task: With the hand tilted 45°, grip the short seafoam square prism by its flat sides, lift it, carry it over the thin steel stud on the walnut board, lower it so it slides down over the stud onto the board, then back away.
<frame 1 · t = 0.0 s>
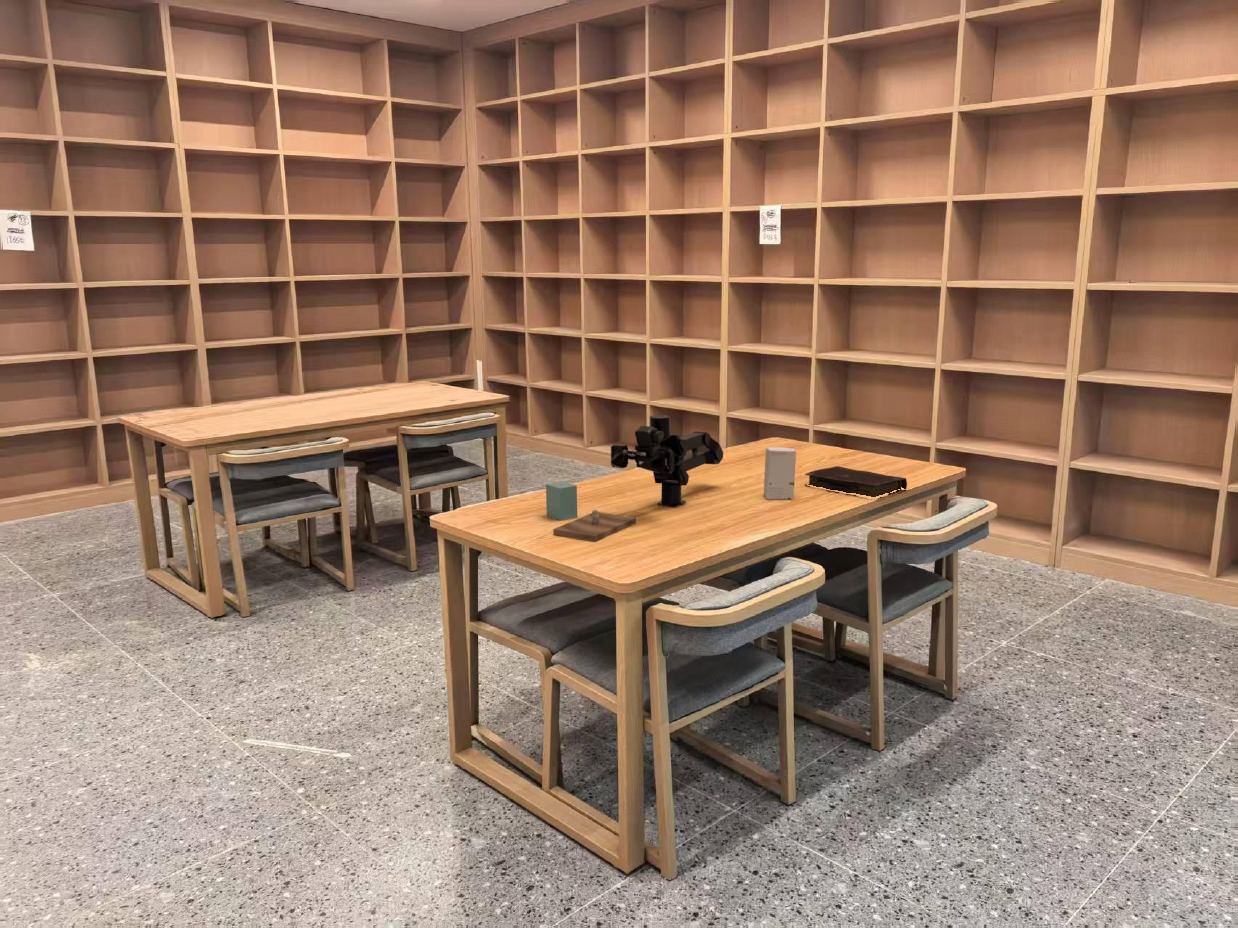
hand: (626, 464, 245), 17 cm above the table, tool horizontal, fingers open, 9 cm apart
seafoam square prism: (561, 516, 257), on the table
stud board: (595, 528, 245), on the table
diary: (854, 490, 287), on the table
skincare box: (778, 498, 277), on the table
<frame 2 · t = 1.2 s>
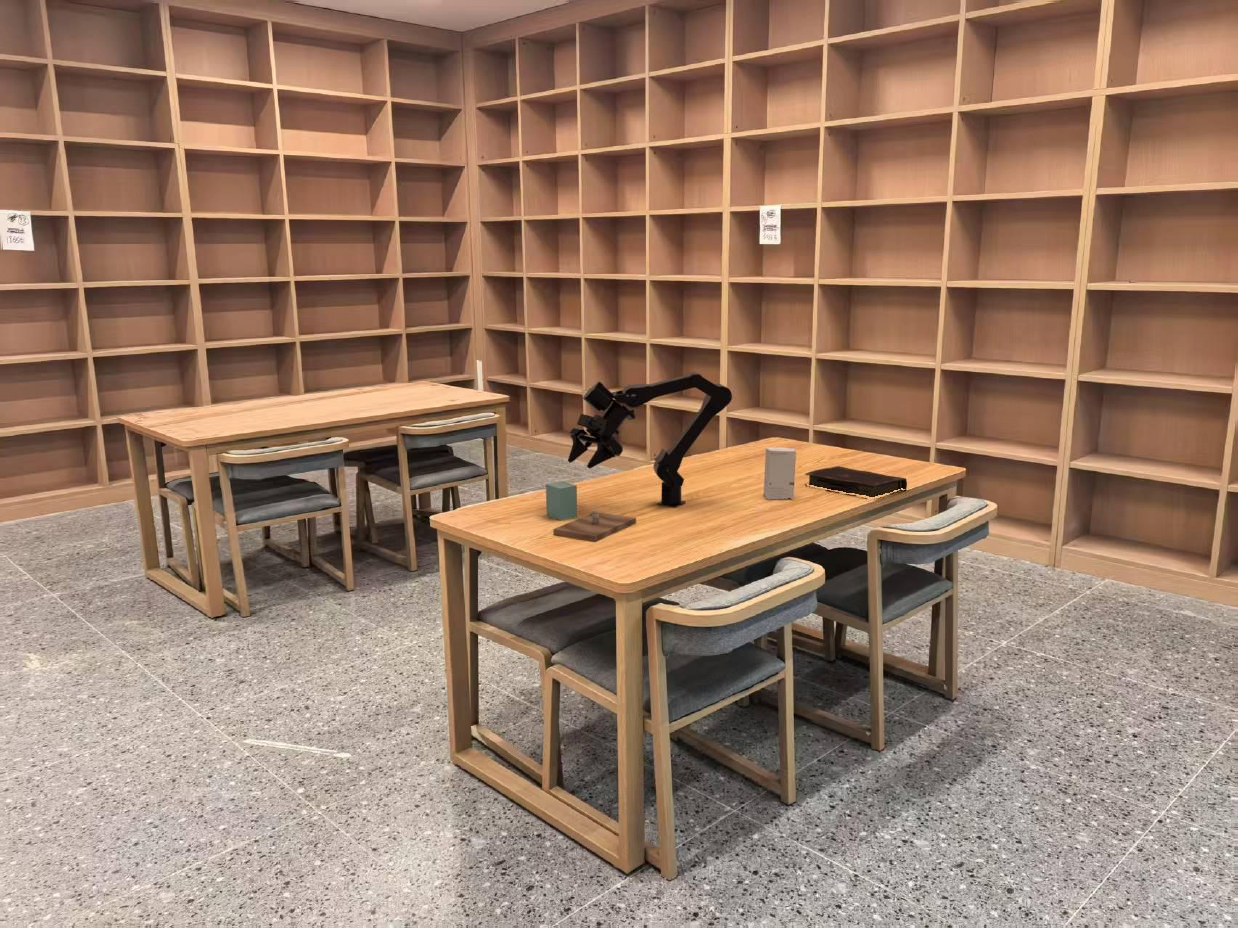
hand: (578, 464, 257), 14 cm above the table, tool tilted 45°, fingers open, 9 cm apart
nothing on the table moved.
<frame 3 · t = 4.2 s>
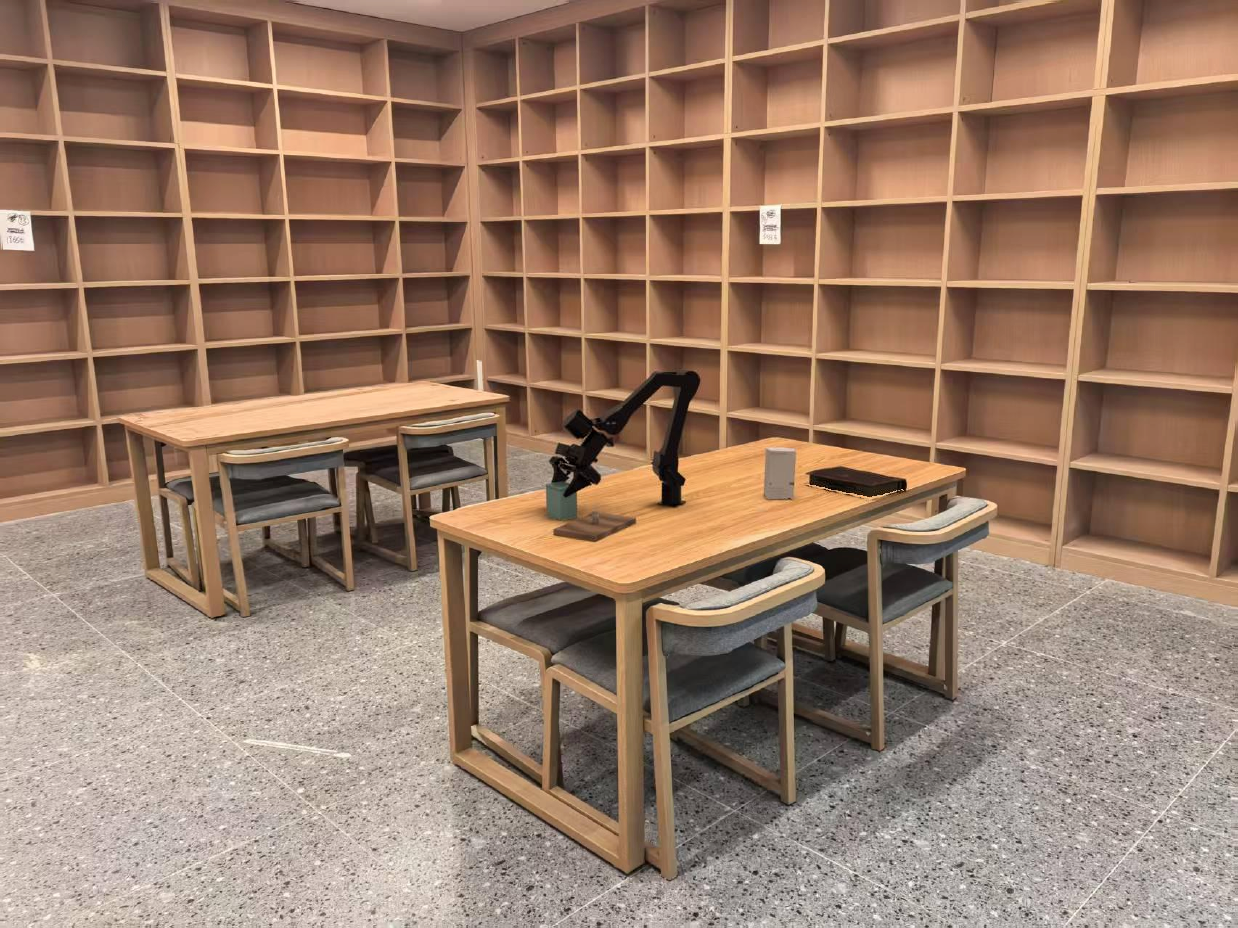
hand: (557, 494, 255), 7 cm above the table, tool tilted 45°, fingers closed on seafoam square prism, 7 cm apart
seafoam square prism: (561, 516, 257), on the table, touching gripper
everything else where it was.
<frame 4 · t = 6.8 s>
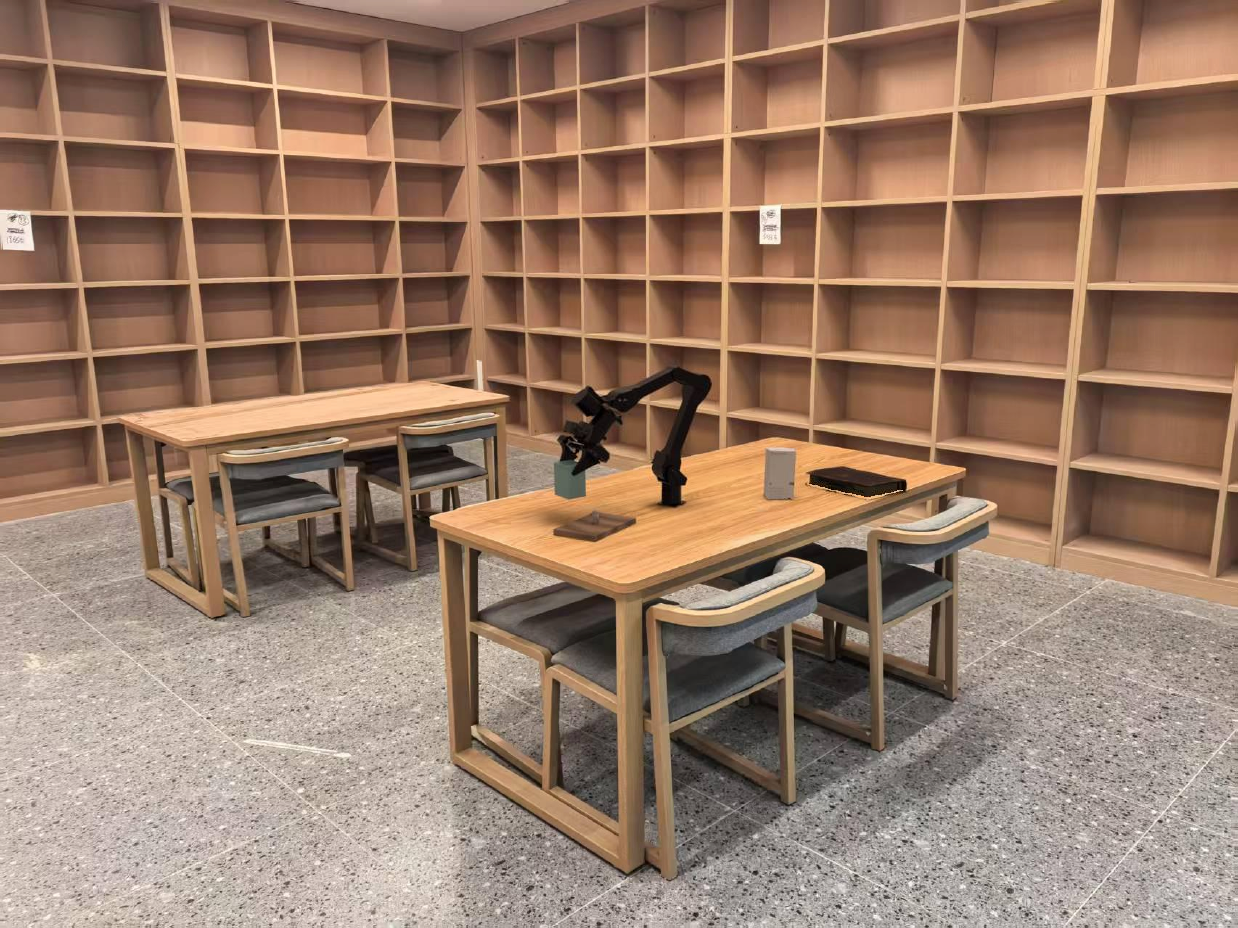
hand: (565, 472, 250), 13 cm above the table, tool tilted 45°, fingers closed on seafoam square prism, 7 cm apart
seafoam square prism: (570, 495, 253), point 7 cm above the table, touching gripper
everything else where it was.
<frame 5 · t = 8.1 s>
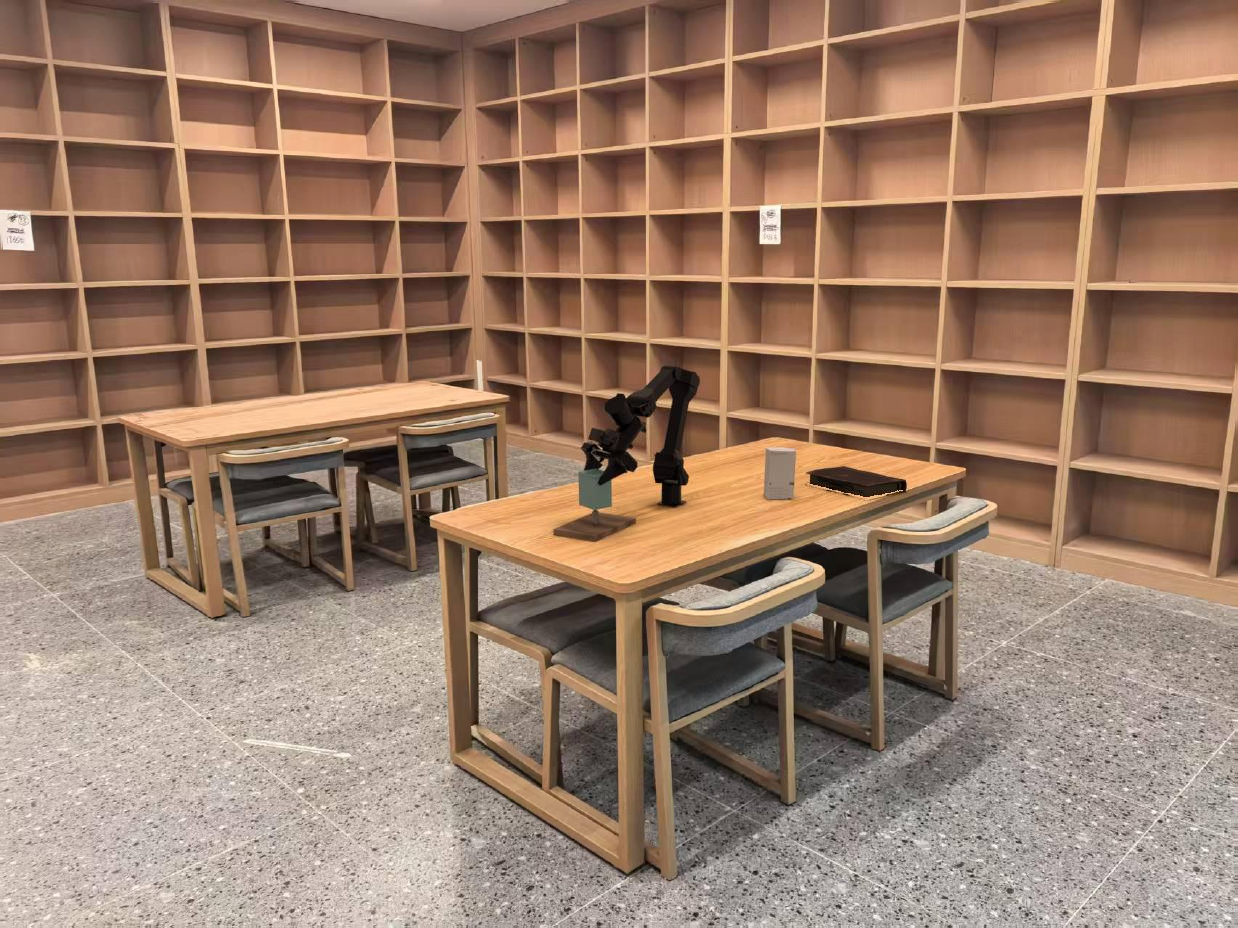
hand: (590, 482, 241), 13 cm above the table, tool tilted 45°, fingers closed on seafoam square prism, 7 cm apart
seafoam square prism: (595, 505, 243), point 6 cm above the table, touching gripper
when the fingers open (9 cm above the table, at t = 9.4 s): seafoam square prism stays where it is, resting on stud board.
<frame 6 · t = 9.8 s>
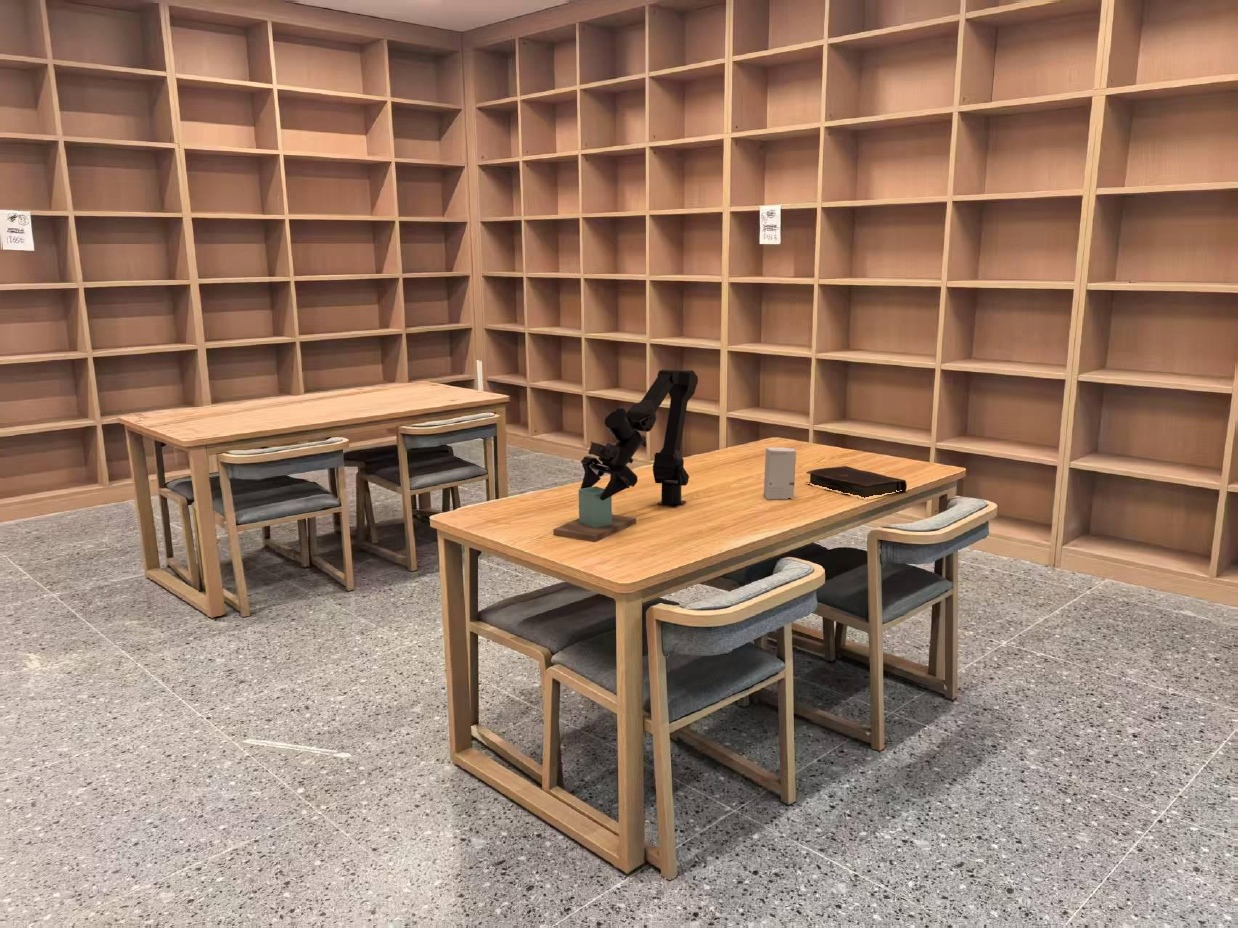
hand: (590, 496, 242), 9 cm above the table, tool tilted 45°, fingers open, 9 cm apart
seafoam square prism: (595, 523, 244), point 1 cm above the table, touching stud board
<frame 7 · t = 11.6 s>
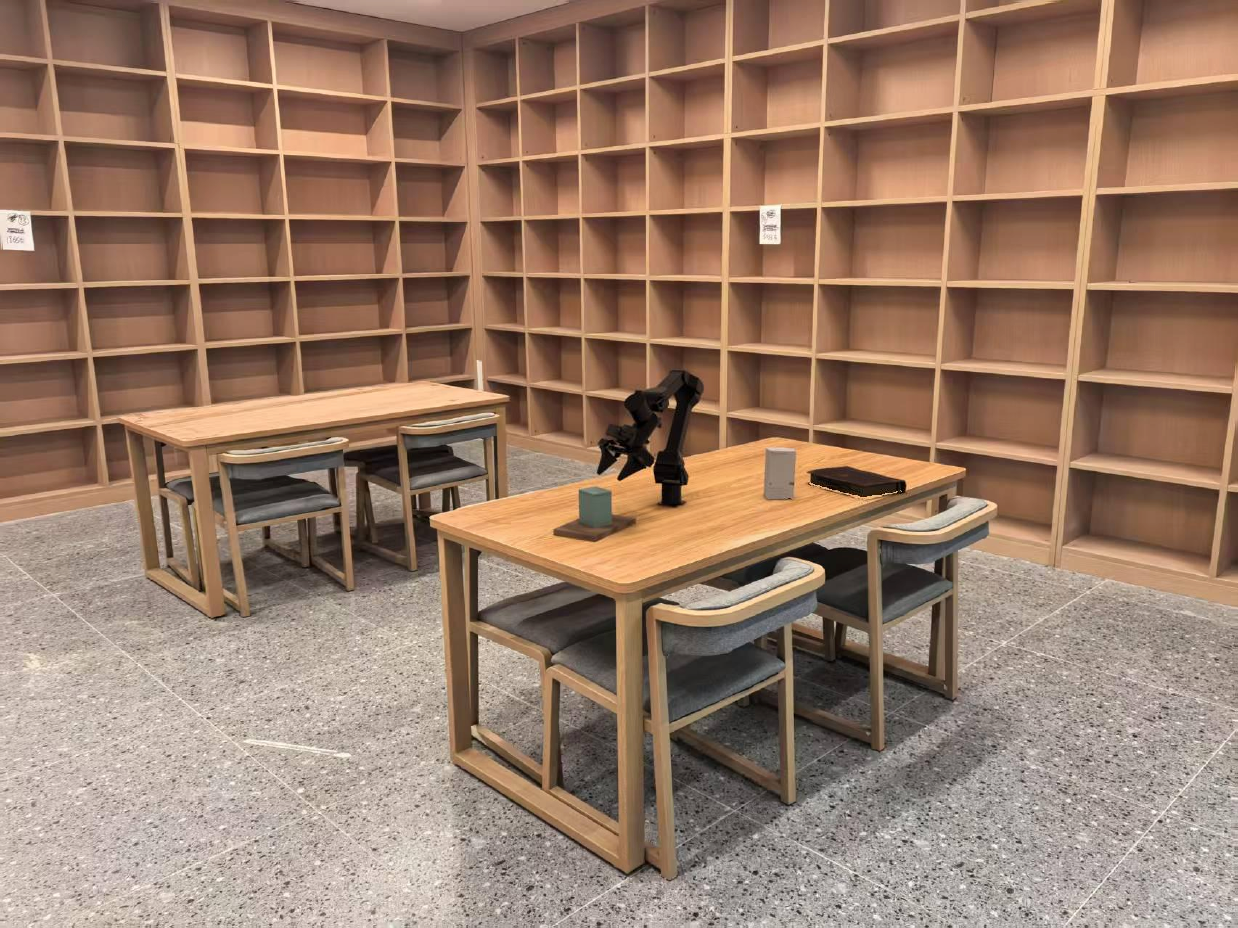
hand: (607, 477, 244), 13 cm above the table, tool tilted 45°, fingers open, 9 cm apart
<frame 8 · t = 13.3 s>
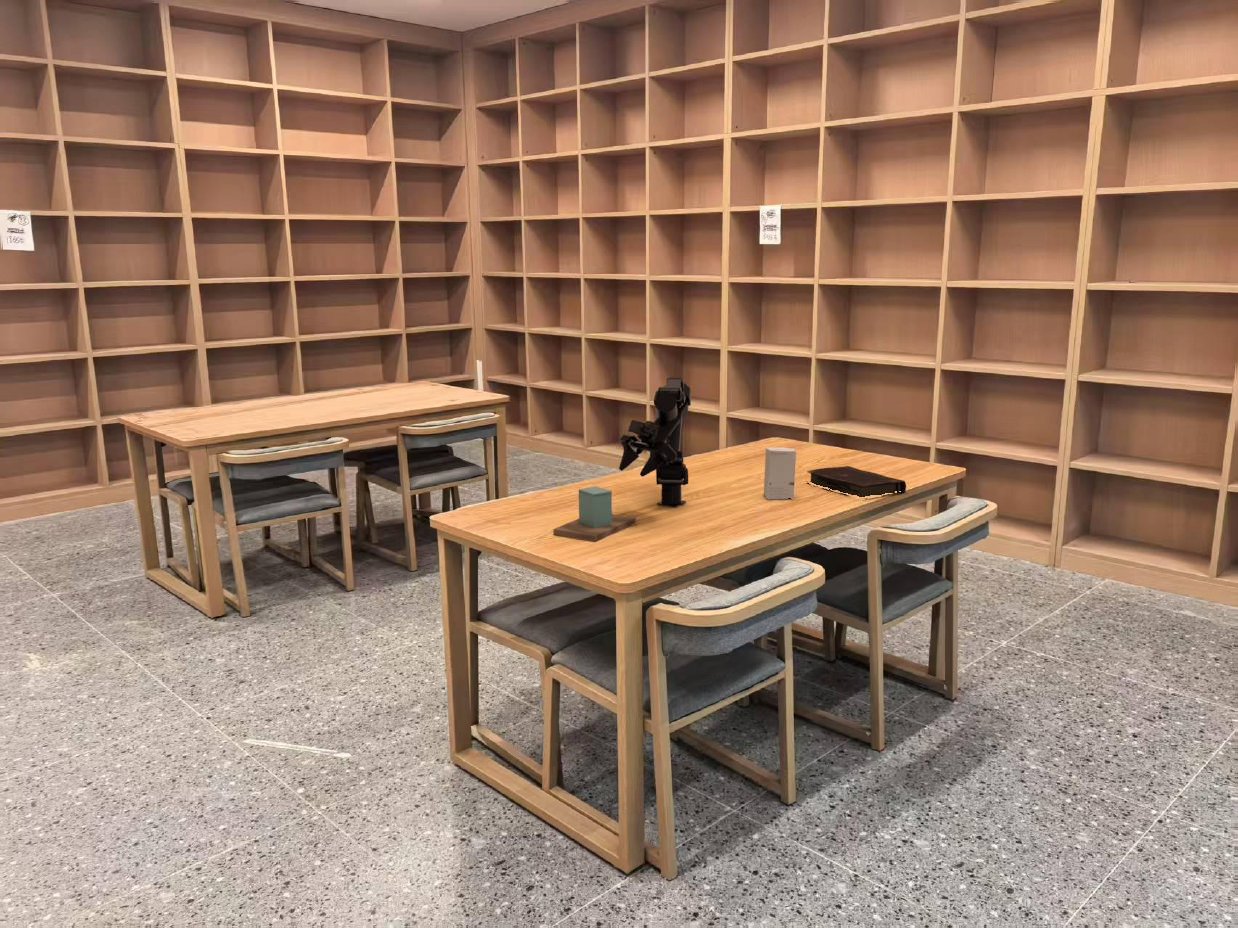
hand: (630, 472, 248), 14 cm above the table, tool tilted 45°, fingers open, 9 cm apart
at the end: seafoam square prism 0.0 cm from the stud board (horizontally); seafoam square prism point 1.5 cm above the table; seafoam square prism tilted 0° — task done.
